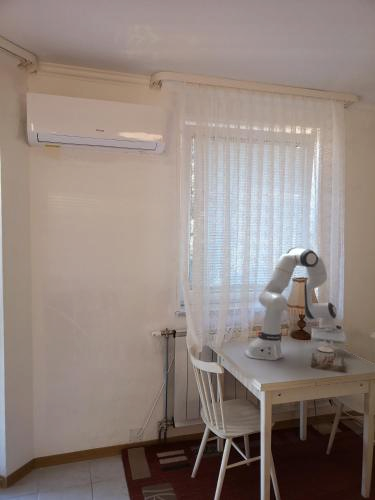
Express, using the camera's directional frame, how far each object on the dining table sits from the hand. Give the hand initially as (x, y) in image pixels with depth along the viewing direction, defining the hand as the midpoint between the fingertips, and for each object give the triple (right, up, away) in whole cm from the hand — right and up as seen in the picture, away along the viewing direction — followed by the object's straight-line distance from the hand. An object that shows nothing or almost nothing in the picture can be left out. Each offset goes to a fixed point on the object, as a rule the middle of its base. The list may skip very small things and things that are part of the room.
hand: (328, 347), depth 222 cm
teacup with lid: (-7, -6, -15) cm, 18 cm away
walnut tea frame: (-6, -5, -15) cm, 17 cm away
